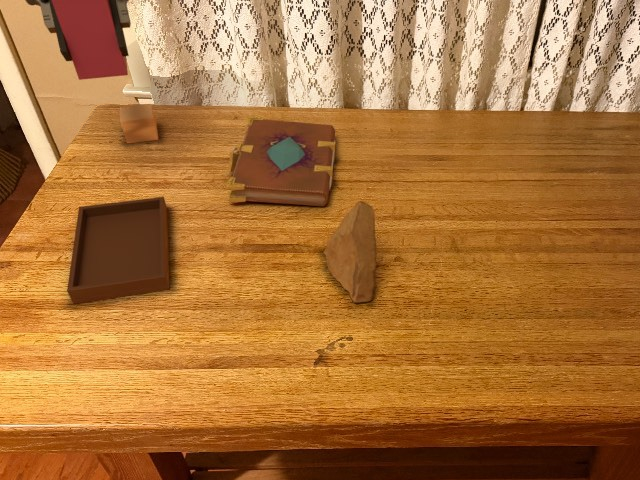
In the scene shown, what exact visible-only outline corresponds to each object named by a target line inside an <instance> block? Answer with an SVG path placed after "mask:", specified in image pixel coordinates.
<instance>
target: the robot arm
mask: <svg viewBox="0 0 640 480" xmlns="http://www.w3.org/2000/svg"><path fill="white" fill-rule="evenodd" d="M129 1H130V0H109V5H110V9H111V14H112V18H113V23H114V27H115V32H116V37H117V41H118V45H119V49H120V51H121V54H122V56H126V57H130V56H129V55H130V54H129V51H128V47H127V42H126V37H125V32H124V29H128V28H129V29H130V28H131V26H132V25H131V24H132V23H131V18H130V14H129V9H128V2H129ZM25 2H26V4H27V5H29V6H39V7H40V11H41V15H42V19H43V23H44V26H45V28H46V29H47V30H48V32H49V33H50V34H56V39H57V43H58V47H59V52H60V54H61V55H62V57H63V58H64V60H65V62H73V61H72V58H71V55H70V52H69V49H68V46H67V43H66V40H65V37H64V35H63V32H62V29H61V26H60V23H59V20H58V17H57V14H56V12H55V9H54V6H53V3H52V0H25Z"/></svg>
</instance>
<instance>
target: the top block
mask: <svg viewBox="0 0 640 480" xmlns="http://www.w3.org/2000/svg"><path fill="white" fill-rule="evenodd" d="M52 3H53V6H54V9H55V12H56V14H57V17H58V20H59V23H60V26H61V29H62V32H63V35H64V37H65V40H66V43H67V46H68V49H69V52H70V55H71V58H72V61H71V62H72V63H73V66H74V69H75V72H76V75H77V78H78V80H79V81H80V80H81V81H83V80H91V79H92V80H93V79H101V78H102V79H103V78H114V77H123V76H128V75H129V72H128V63H127V56H122V54H121V51H120V49H119V45H118V41H117V37H116V32H115V27H114V23H113V18H112V14H111V9H110V5H109V0H52Z"/></svg>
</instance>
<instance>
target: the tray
mask: <svg viewBox="0 0 640 480" xmlns="http://www.w3.org/2000/svg"><path fill="white" fill-rule="evenodd" d="M77 211H78V212H77V218H76V224H75V225H76V226H75V233H74V238H73V239H74V240H73V246H72V254H71V261H70V268H69V274H68V281H67V282H68V283H67V288H66V292H67V294H68V296H69V298H70V300H71V302H72V304H73V305H76V304H82V303H84V304H85V303H89V302H97V301H103V300H104V301H105V300H110V299H116V298H122V297H129V296H135V295H143V294H148V293H155V292H161V291H168V290H171V286H170V285H171V284H170V251H169V217H168V216H169V214H168V207H167V203H166V199H165V197H164V196H159V197H151V198H149V197H148V198H142V199H133V200H132V199H131V200H125V201H116V202H108V203H99V204H91V205H83V206H78V210H77Z"/></svg>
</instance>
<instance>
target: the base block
mask: <svg viewBox="0 0 640 480" xmlns="http://www.w3.org/2000/svg"><path fill="white" fill-rule="evenodd" d="M152 105H153V104H151V103H147V104H138V105H129V106H120V107H119V122H120V125H121V129H122V132H123V135H124V138H125V142H126V144H134V143H135V144H136V143H145V142H152V141H159V132H158V124H157V121H156V117H155V113H154V110H153V106H152Z"/></svg>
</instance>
